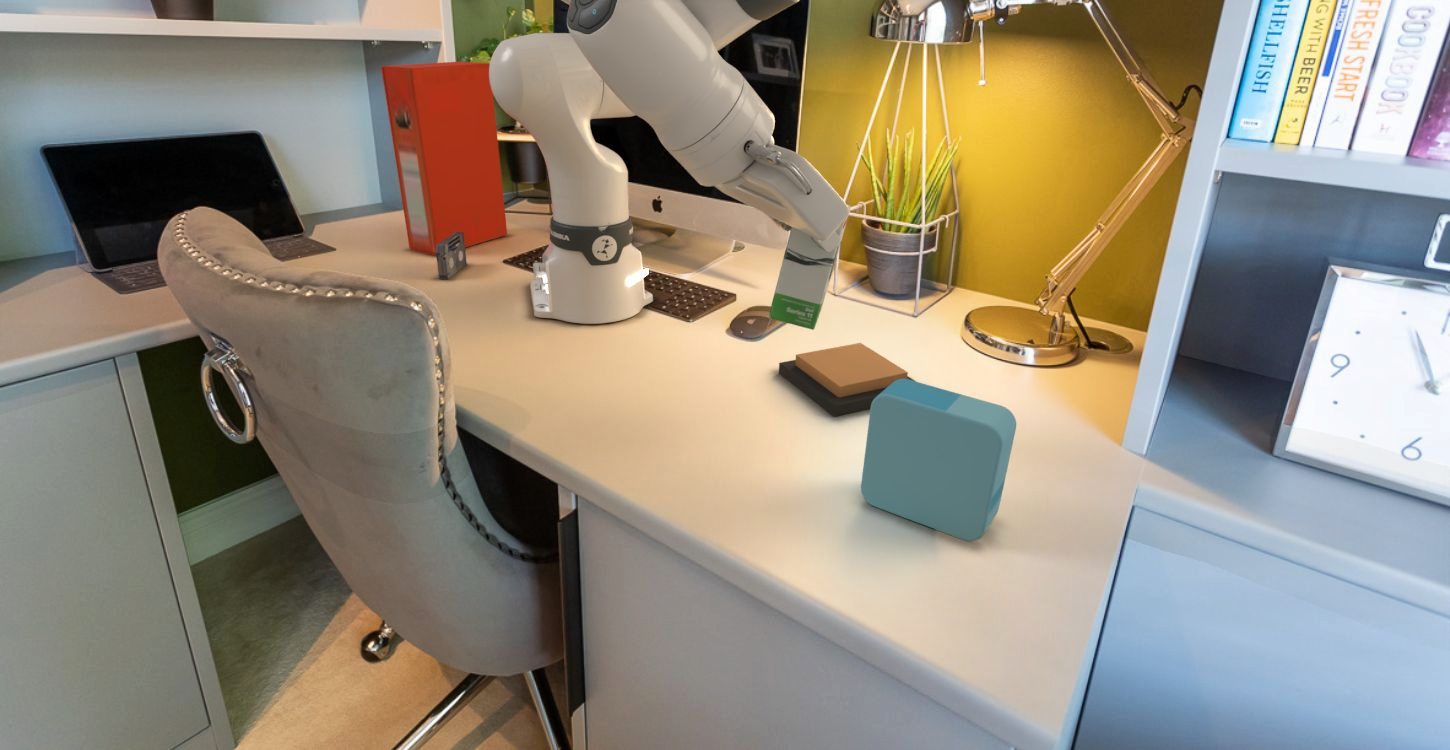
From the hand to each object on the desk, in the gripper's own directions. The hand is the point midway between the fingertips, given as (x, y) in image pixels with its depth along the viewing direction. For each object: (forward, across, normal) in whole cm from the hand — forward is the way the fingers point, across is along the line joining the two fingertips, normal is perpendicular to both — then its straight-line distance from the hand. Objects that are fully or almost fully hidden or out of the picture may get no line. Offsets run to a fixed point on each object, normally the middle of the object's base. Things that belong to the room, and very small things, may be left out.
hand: (809, 234), depth 76 cm
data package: (+19, -17, +13) cm, 29 cm away
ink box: (+6, +1, +6) cm, 9 cm away
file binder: (+2, +91, +32) cm, 96 cm away
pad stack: (+26, +9, +7) cm, 28 cm away
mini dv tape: (-1, +73, +34) cm, 80 cm away
